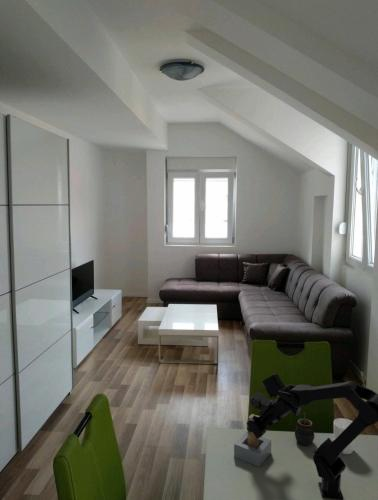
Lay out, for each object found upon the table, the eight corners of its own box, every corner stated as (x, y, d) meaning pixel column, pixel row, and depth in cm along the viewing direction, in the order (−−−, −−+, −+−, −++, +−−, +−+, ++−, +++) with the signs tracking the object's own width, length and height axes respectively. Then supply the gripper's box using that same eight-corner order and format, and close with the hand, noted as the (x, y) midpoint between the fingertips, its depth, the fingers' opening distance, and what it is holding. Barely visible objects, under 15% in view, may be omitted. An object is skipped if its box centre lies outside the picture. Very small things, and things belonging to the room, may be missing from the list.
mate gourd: (296, 447, 150) (297, 421, 149) (292, 435, 158) (293, 411, 157) (316, 447, 150) (317, 422, 149) (310, 436, 158) (311, 412, 157)
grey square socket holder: (270, 452, 147) (271, 440, 146) (259, 466, 139) (259, 454, 138) (246, 443, 152) (246, 431, 152) (233, 456, 144) (234, 443, 144)
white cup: (351, 443, 153) (352, 418, 152) (357, 456, 145) (359, 430, 144) (330, 442, 154) (331, 417, 152) (335, 454, 146) (336, 428, 145)
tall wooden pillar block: (258, 447, 146) (259, 416, 144) (254, 451, 143) (255, 419, 142) (251, 444, 147) (251, 413, 146) (247, 448, 145) (248, 417, 144)
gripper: (275, 379, 148) (247, 399, 155) (252, 398, 133) (223, 419, 140) (295, 405, 144) (266, 424, 152) (274, 428, 129) (243, 448, 137)
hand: (249, 428), depth 145 cm, fingers closed on tall wooden pillar block, 3 cm apart
